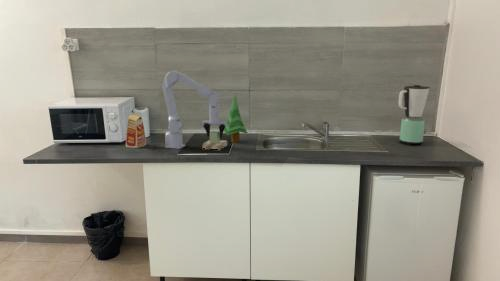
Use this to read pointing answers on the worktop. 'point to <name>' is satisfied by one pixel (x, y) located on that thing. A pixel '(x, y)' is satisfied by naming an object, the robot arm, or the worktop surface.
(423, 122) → the mint green blender
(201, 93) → the robot arm
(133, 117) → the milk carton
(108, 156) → the worktop surface
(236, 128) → the decorative tree
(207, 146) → the beige irregular slab
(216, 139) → the green block
